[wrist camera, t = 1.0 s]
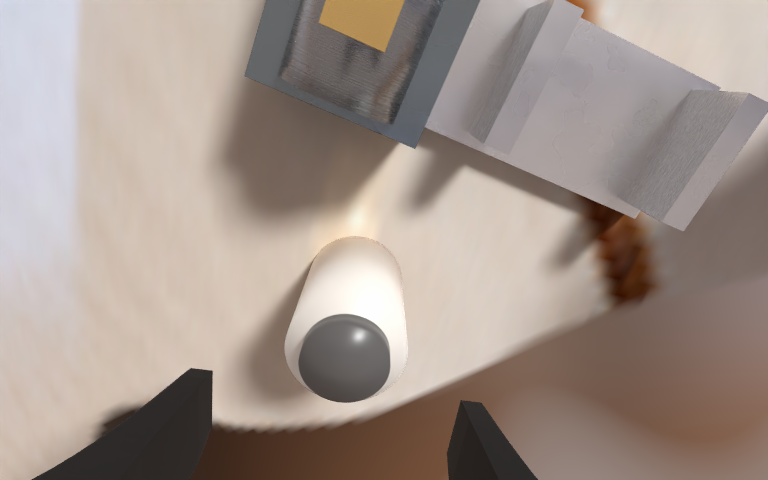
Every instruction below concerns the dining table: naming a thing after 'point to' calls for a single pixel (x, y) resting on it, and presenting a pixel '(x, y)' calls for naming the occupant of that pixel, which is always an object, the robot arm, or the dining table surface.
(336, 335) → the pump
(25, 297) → the dining table surface
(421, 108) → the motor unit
